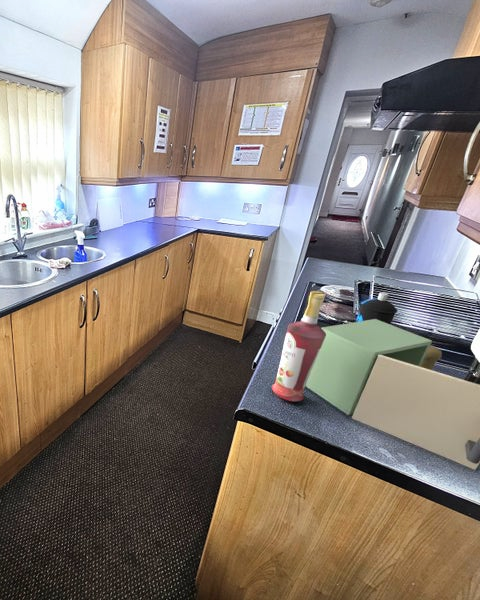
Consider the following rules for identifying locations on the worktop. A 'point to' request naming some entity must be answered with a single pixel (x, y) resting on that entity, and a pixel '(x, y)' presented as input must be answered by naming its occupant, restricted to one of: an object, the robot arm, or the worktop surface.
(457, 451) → the door
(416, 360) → the cupboard
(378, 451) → the worktop surface
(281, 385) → the liquor
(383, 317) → the aerosol can
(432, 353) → the cork
